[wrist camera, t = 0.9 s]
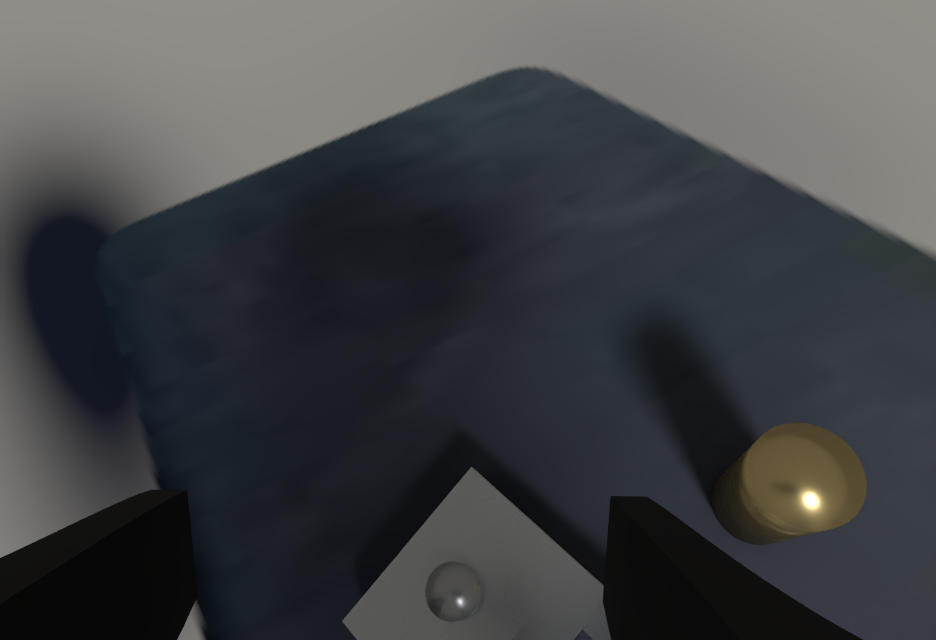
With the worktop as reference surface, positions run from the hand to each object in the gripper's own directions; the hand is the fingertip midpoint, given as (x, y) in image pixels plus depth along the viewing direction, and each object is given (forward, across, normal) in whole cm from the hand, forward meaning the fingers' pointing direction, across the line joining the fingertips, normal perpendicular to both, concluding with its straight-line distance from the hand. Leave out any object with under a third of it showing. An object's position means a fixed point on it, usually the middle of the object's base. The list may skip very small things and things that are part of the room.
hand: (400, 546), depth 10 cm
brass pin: (+12, -12, +6) cm, 18 cm away
